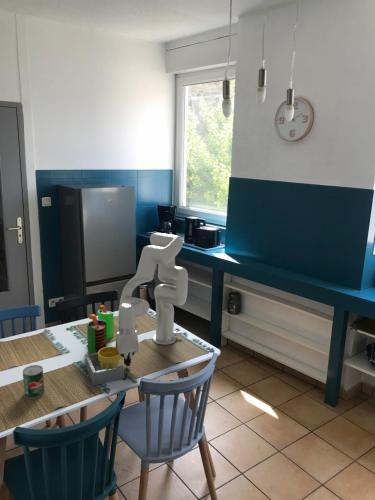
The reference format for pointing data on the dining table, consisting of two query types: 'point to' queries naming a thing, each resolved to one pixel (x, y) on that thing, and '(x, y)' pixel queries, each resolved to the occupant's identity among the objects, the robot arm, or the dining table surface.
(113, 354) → the plant pot
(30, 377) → the canned tomato
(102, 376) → the grey open box
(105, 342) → the motor
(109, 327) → the green-shelled ribbed roller
